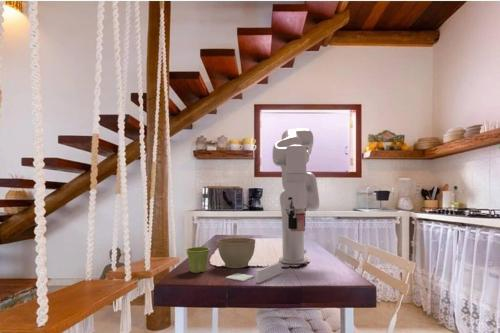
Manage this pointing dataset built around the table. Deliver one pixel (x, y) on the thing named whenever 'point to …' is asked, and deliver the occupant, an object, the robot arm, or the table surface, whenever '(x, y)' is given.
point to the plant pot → (197, 258)
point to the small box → (300, 220)
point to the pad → (240, 277)
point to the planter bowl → (236, 251)
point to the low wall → (268, 272)
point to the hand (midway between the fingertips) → (297, 227)
